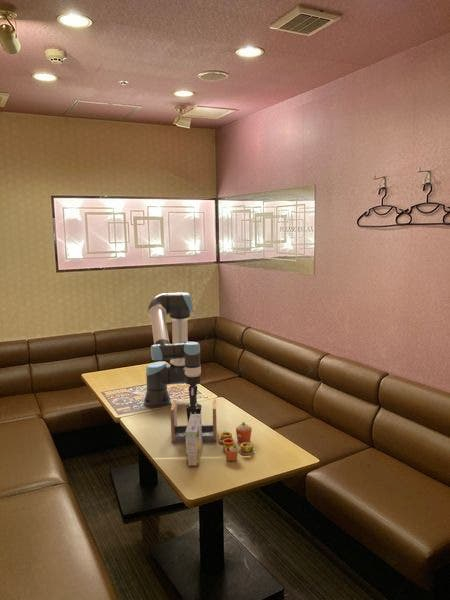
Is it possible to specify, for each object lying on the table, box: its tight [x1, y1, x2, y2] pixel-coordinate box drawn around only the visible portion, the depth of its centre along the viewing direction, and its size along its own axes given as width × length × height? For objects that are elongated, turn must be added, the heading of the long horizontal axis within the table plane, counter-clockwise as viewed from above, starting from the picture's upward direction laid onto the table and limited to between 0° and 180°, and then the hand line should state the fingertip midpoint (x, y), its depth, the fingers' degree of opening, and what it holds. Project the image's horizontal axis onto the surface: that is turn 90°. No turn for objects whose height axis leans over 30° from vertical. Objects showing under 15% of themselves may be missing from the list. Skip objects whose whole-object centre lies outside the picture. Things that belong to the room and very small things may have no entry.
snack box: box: [185, 414, 204, 467], centre depth 210 cm, size 21×6×15 cm, turn 178°
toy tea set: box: [217, 421, 255, 462], centre depth 217 cm, size 26×16×10 cm, turn 6°
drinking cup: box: [185, 402, 202, 422], centre depth 230 cm, size 8×8×20 cm
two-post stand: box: [170, 398, 218, 444], centre depth 230 cm, size 13×21×16 cm, turn 91°
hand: (193, 421), depth 230 cm, fingers closed on drinking cup, 6 cm apart
